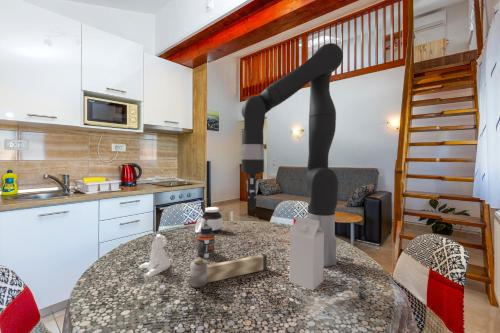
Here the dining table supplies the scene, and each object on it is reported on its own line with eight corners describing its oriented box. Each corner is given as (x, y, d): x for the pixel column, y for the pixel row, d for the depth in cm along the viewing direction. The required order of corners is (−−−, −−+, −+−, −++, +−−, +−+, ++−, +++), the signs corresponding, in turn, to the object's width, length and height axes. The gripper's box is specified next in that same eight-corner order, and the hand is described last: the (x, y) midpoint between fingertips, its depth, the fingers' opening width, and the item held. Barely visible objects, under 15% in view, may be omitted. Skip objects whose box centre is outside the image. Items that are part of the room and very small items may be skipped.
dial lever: (192, 289, 62) (192, 264, 62) (188, 281, 66) (188, 258, 66) (268, 271, 73) (269, 250, 73) (261, 265, 77) (262, 245, 76)
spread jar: (224, 230, 121) (224, 208, 121) (209, 236, 111) (209, 211, 111) (206, 227, 127) (206, 205, 127) (191, 232, 118) (191, 209, 118)
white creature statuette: (137, 270, 76) (137, 233, 76) (164, 263, 81) (164, 228, 81) (146, 282, 68) (146, 241, 68) (175, 273, 74) (175, 235, 74)
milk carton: (300, 277, 72) (301, 215, 72) (323, 284, 68) (324, 218, 68) (289, 286, 67) (289, 219, 67) (312, 295, 62) (313, 223, 62)
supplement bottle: (210, 262, 83) (211, 230, 82) (194, 260, 84) (195, 228, 84) (216, 255, 88) (216, 225, 88) (201, 254, 90) (201, 224, 90)
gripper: (264, 158, 72) (263, 212, 72) (264, 159, 86) (263, 204, 86) (239, 158, 72) (239, 211, 73) (243, 158, 87) (243, 203, 87)
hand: (252, 207), depth 80 cm, fingers open, 7 cm apart
